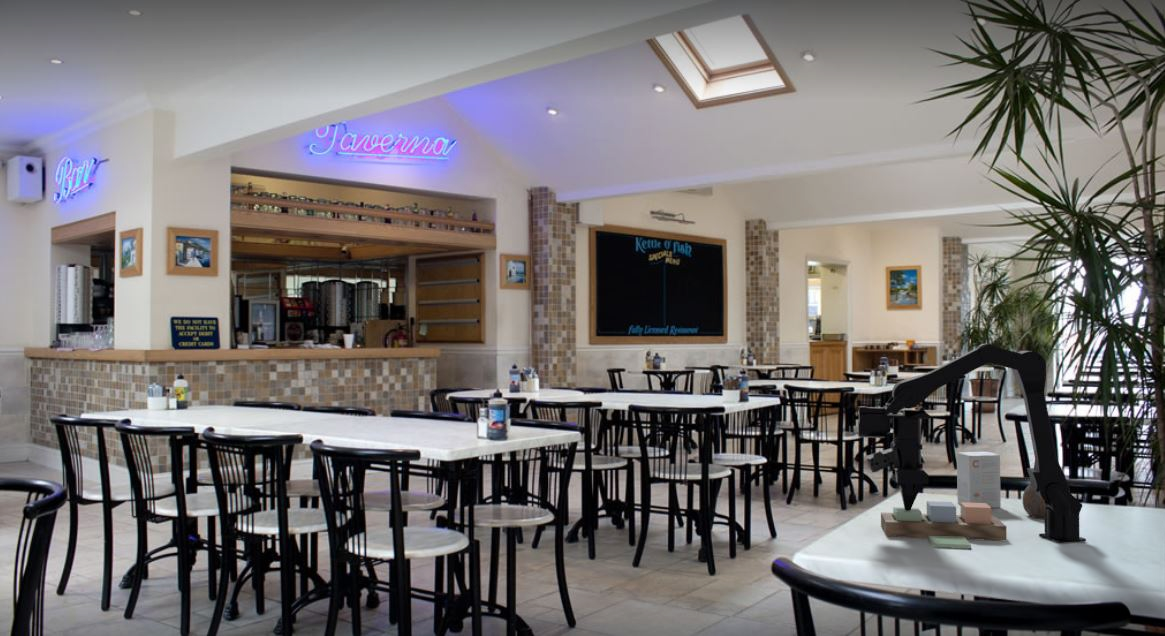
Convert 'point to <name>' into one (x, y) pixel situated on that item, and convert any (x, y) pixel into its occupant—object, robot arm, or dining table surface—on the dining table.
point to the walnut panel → (943, 528)
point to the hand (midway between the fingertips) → (907, 510)
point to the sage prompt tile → (949, 541)
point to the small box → (978, 478)
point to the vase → (1033, 503)
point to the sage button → (907, 514)
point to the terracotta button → (975, 513)
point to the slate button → (941, 511)
